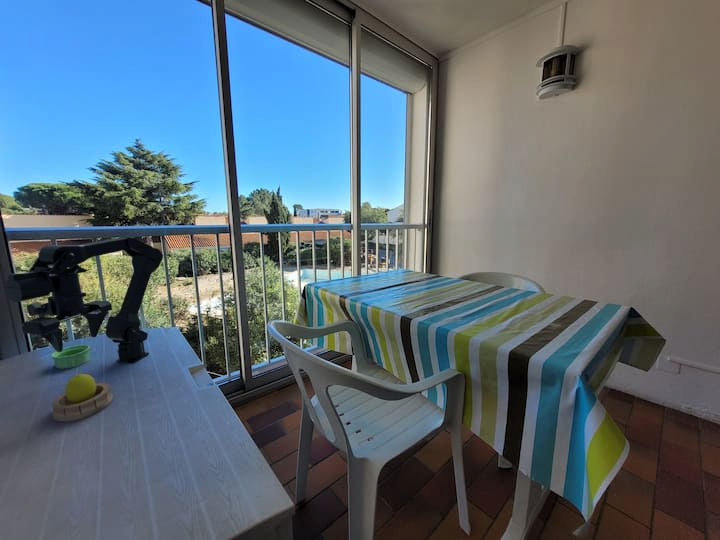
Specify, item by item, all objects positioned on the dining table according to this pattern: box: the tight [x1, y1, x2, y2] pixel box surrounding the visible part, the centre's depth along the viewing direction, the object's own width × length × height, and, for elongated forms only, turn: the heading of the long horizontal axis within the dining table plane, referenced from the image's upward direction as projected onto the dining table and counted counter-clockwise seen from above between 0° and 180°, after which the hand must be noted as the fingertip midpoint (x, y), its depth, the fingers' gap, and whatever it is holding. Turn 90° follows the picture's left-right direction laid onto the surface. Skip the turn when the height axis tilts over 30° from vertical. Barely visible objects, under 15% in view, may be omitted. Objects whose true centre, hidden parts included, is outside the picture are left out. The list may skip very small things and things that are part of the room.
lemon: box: [64, 373, 97, 403], centre depth 72 cm, size 6×6×8 cm
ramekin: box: [51, 344, 91, 370], centre depth 94 cm, size 9×9×4 cm
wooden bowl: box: [51, 382, 114, 423], centre depth 72 cm, size 11×11×3 cm
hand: (77, 343), depth 81 cm, fingers open, 9 cm apart
